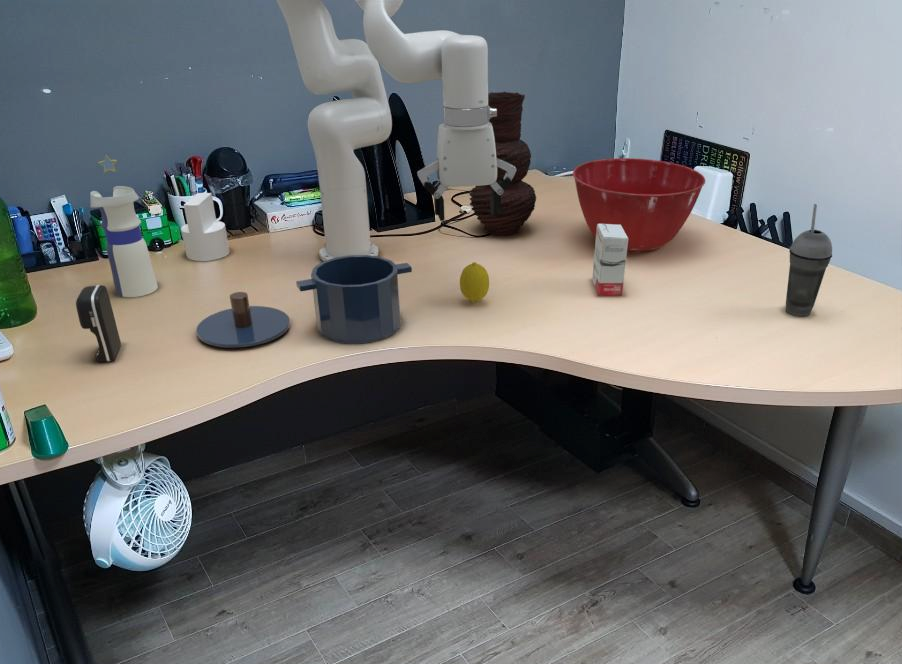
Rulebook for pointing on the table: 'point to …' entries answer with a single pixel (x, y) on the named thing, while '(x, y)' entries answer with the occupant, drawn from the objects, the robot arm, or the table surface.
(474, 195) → the vase
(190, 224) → the cylinder with rectangular tab
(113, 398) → the table surface
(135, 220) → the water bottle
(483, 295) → the lemon
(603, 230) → the ink box
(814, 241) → the beverage cup
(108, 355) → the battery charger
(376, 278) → the pot
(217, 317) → the pot lid
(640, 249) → the mixing bowl
